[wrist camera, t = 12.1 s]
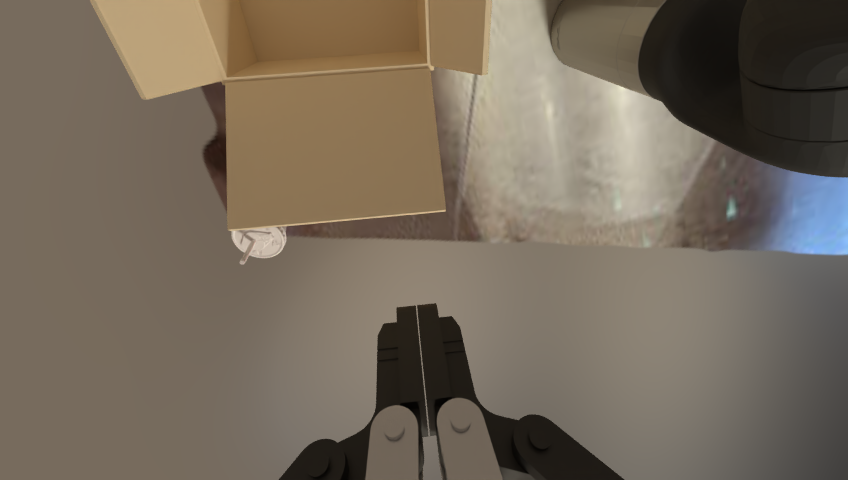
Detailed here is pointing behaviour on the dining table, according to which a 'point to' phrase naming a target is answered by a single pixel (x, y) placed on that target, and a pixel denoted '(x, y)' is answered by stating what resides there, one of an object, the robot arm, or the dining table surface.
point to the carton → (311, 95)
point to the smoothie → (260, 242)
